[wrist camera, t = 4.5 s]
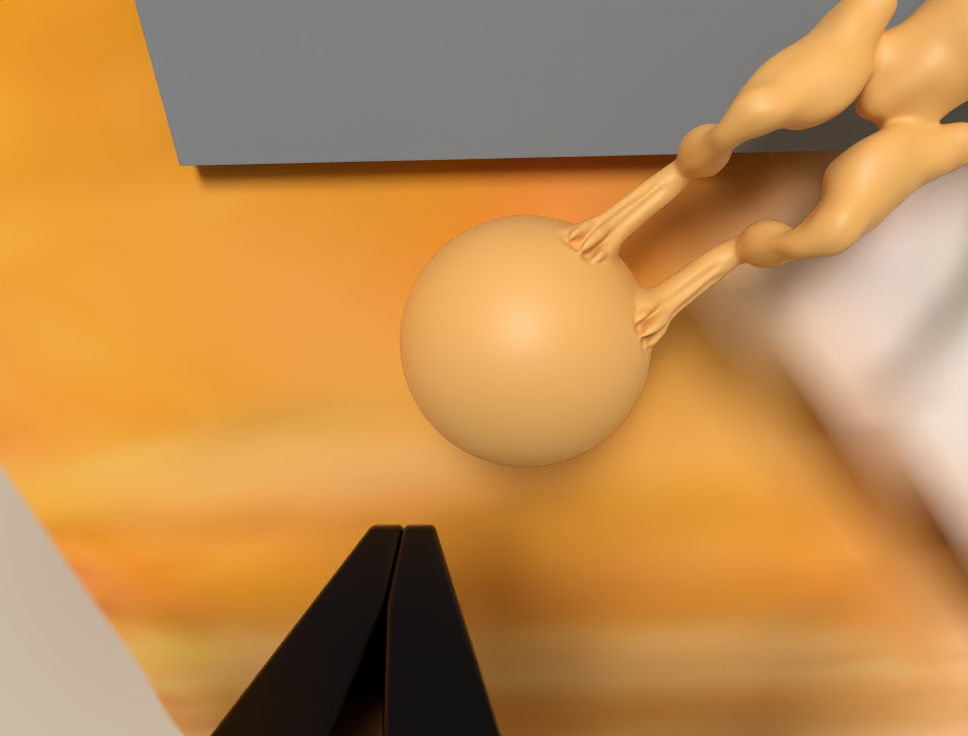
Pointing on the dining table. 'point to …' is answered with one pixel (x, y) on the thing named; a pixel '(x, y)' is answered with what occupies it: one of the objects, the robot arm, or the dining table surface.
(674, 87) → the mat
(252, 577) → the dining table surface
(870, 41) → the figurine
